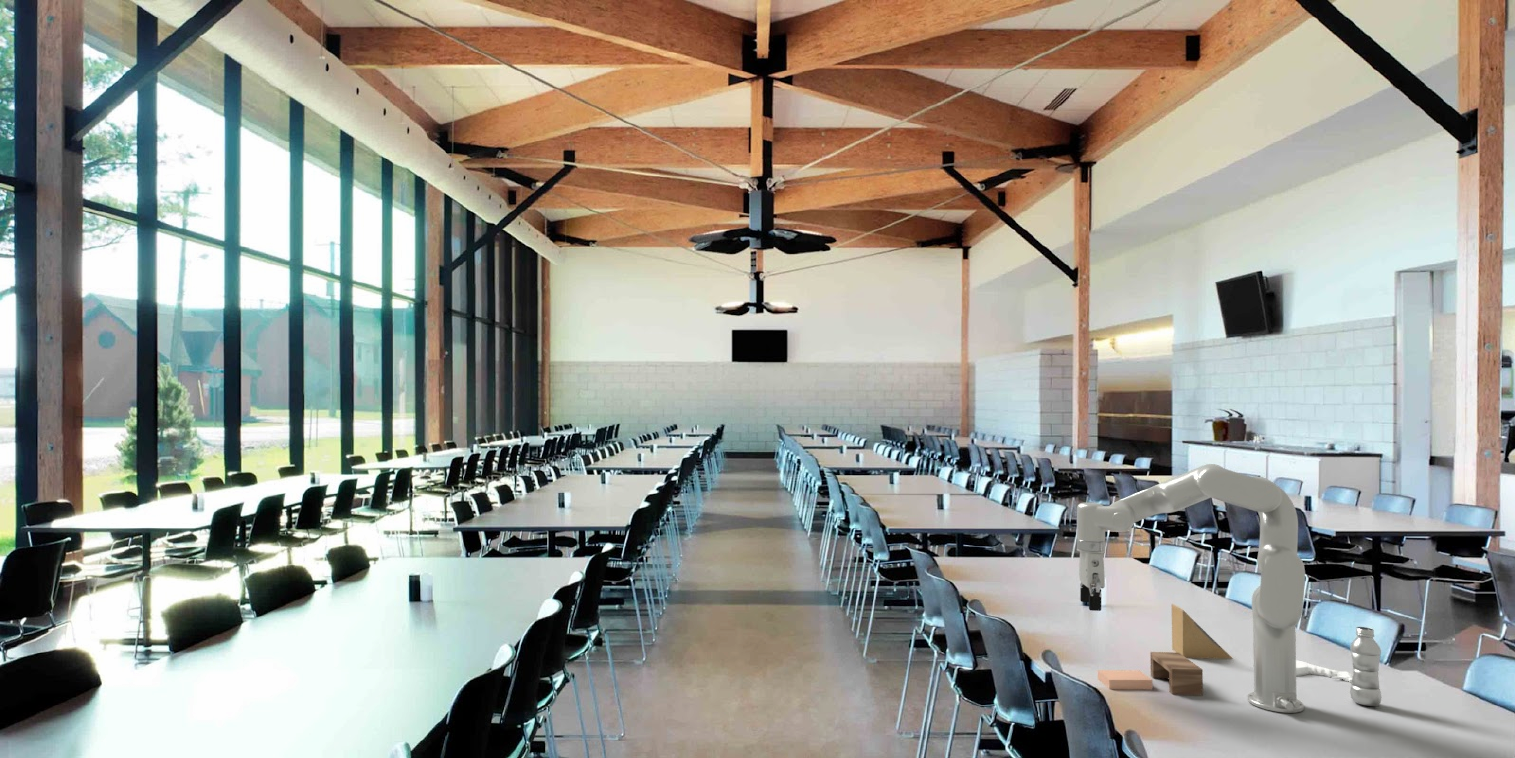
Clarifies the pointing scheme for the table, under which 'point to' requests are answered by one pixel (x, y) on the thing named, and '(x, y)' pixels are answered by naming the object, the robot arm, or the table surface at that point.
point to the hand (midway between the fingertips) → (1090, 605)
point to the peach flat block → (1125, 679)
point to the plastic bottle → (1365, 668)
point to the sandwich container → (1193, 638)
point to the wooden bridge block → (1177, 673)
